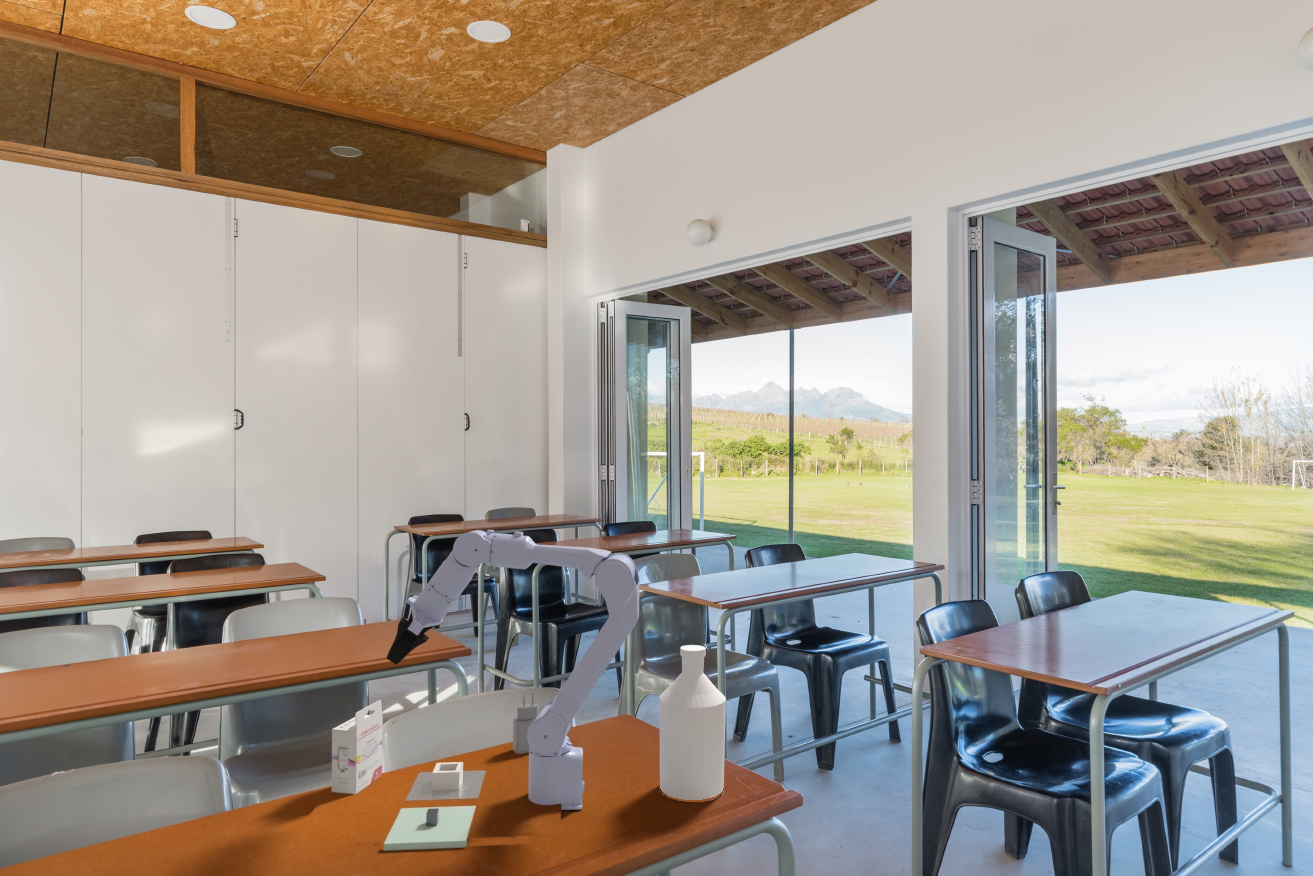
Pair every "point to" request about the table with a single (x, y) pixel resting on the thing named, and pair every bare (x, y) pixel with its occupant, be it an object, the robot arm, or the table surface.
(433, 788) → the cream ring
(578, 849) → the table surface
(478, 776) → the grey stand plate
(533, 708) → the power adapter
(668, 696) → the bottle
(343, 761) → the ink cartridge box
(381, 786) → the table surface
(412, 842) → the sage hub plate
